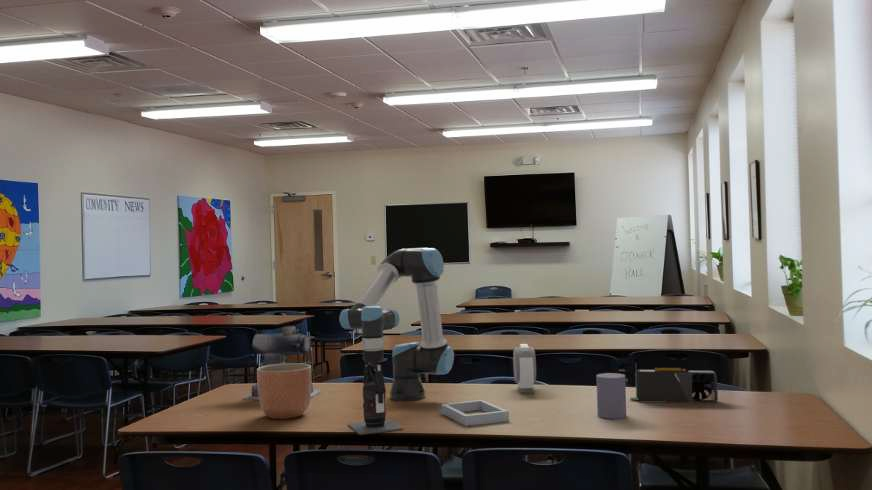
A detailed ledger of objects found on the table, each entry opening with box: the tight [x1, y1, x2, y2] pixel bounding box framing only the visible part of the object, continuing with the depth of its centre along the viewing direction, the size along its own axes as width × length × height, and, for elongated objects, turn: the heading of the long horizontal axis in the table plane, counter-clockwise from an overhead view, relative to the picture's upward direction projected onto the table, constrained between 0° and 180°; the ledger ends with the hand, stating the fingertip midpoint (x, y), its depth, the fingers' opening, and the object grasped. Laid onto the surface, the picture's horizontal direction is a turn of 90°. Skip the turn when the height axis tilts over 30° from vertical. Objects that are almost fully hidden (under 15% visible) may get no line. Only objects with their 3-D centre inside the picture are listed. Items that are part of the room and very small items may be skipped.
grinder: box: [241, 325, 323, 401], centre depth 334 cm, size 18×31×31 cm, turn 79°
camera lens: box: [362, 381, 387, 428], centre depth 268 cm, size 8×8×15 cm
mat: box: [347, 418, 404, 436], centre depth 268 cm, size 16×16×1 cm
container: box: [596, 372, 627, 420], centre depth 275 cm, size 10×10×15 cm
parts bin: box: [440, 399, 510, 427], centre depth 280 cm, size 23×17×4 cm
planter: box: [256, 362, 312, 420], centre depth 291 cm, size 21×21×19 cm
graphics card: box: [629, 363, 719, 404], centre depth 298 cm, size 33×5×14 cm, turn 76°
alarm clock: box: [512, 343, 537, 394], centre depth 329 cm, size 18×8×20 cm, turn 179°
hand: (374, 408), depth 268 cm, fingers open, 13 cm apart
